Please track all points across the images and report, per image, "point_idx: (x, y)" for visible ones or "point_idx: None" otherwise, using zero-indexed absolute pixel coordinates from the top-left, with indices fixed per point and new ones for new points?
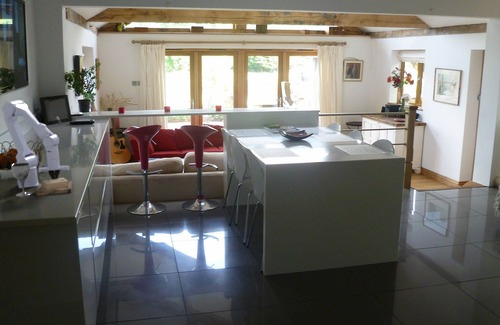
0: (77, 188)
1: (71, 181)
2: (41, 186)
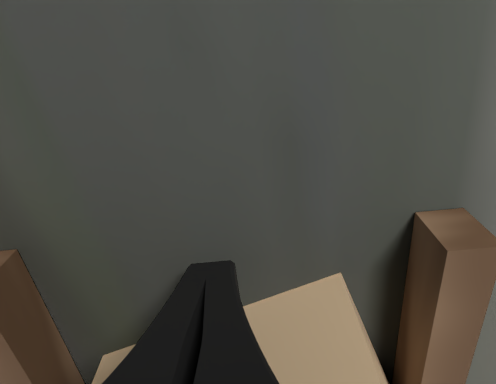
0: (492, 364)
1: (488, 270)
2: (36, 360)
